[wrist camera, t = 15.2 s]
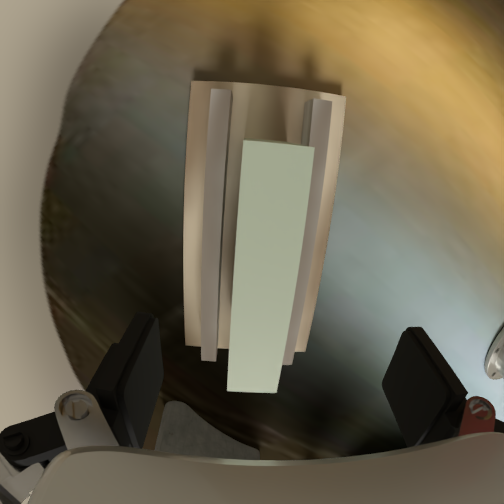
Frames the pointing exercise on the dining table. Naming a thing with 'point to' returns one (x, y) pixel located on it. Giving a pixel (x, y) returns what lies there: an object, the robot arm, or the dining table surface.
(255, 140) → the door panel
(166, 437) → the hip flask
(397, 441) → the dining table surface
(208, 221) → the track
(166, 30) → the dining table surface
